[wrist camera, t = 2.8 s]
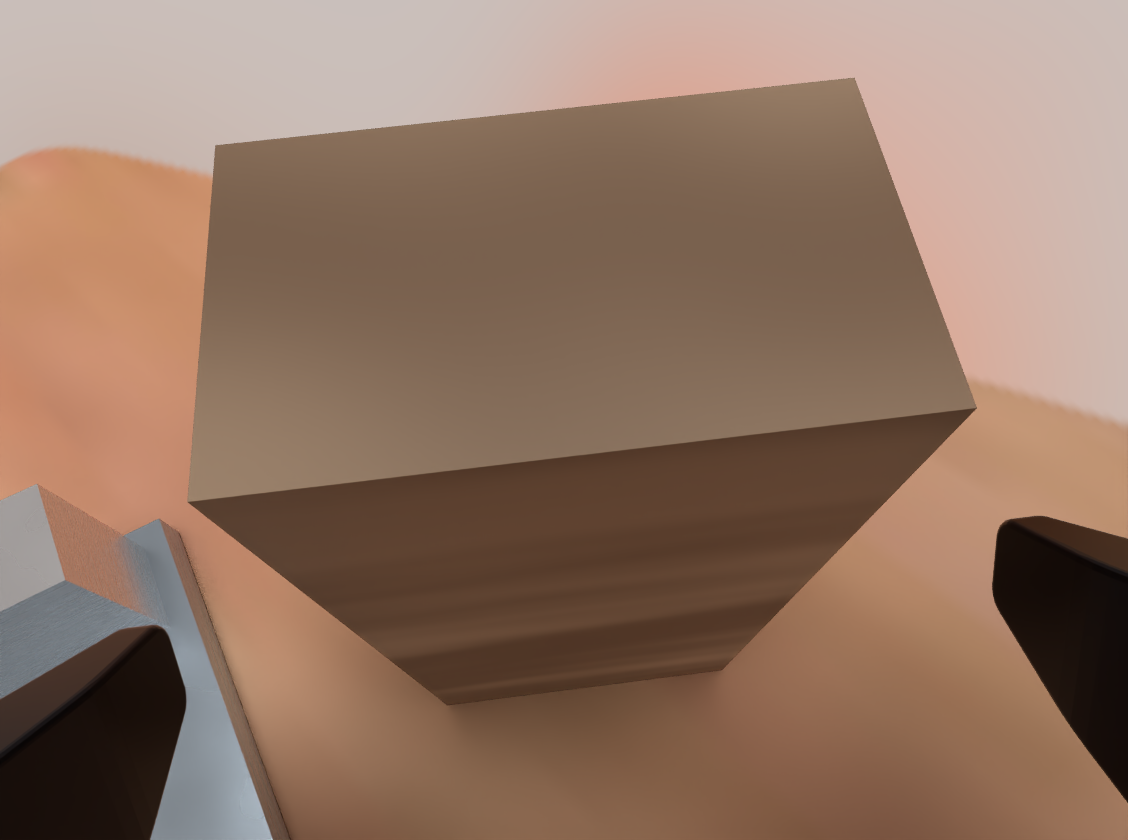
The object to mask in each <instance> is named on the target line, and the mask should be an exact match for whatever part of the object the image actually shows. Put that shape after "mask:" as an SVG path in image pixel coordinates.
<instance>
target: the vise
mask: <svg viewBox="0 0 1128 840" xmlns="http://www.w3.org/2000/svg"><path fill="white" fill-rule="evenodd" d="M147 625H159V626H161V627H162V628H164V629H165V630H166V632H167V633H168V635H169V638H170V640H171V644H172V647H173V650H174V653H175V656H176V660H177V663H178V666H179V669H180V672H181V676H182V679H183V682H184V685H185V689H186V696H187V704H186V712H185V716H184V720H183V723H182V727H181V731H180V734H179V738H178V742H177V745H176V749H175V753H174V756H173V760H172V763H171V767H170V771H169V774H168V778H167V782H166V785H165V789H164V793H163V796H162V800H161V804H160V807H159V811H158V815H157V818H156V822H155V825H154V829H153V832H152V835H151V838H150V840H290V838H289V835H288V832H287V830H286V827H285V824H284V821H283V819H282V816H281V813H280V810H279V808H278V805H277V802H276V799H275V797H274V794H273V791H272V788H271V786H270V783H269V780H268V777H267V774H266V772H265V769H264V766H263V763H262V761H261V758H260V755H259V752H258V750H257V747H256V744H255V741H254V739H253V736H252V733H251V730H250V728H249V725H248V722H247V719H246V717H245V714H244V711H243V708H242V706H241V703H240V700H239V697H238V695H237V692H236V689H235V686H234V684H233V681H232V678H231V675H230V673H229V670H228V667H227V664H226V661H225V659H224V656H223V653H222V650H221V648H220V645H219V642H218V639H217V637H216V634H215V631H214V628H213V626H212V623H211V620H210V617H209V615H208V612H207V609H206V606H205V604H204V601H203V598H202V595H201V593H200V590H199V587H198V584H197V582H196V579H195V576H194V573H193V571H192V568H191V565H190V562H189V559H188V557H187V554H186V551H185V548H184V546H183V543H182V540H181V537H180V535H179V532H178V531H176V530H175V529H173V528H172V527H170V526H169V525H168V524H166V523H165V522H163V521H162V520H160V519H157V520H155V521H153V522H151V523H149V524H147V525H145V526H143V527H141V528H139V529H136V530H134V531H132V532H130V533H128V534H126V535H124V536H123V535H122V534H120V533H118V532H117V531H115V530H113V529H112V528H110V527H108V526H107V525H105V524H103V523H102V522H100V521H98V520H97V519H95V518H93V517H92V516H90V515H88V514H87V513H85V512H83V511H82V510H80V509H78V508H77V507H75V506H73V505H72V504H70V503H68V502H67V501H65V500H63V499H62V498H60V497H58V496H57V495H55V494H53V493H52V492H50V491H48V490H47V489H45V488H43V487H42V486H40V485H38V484H35V485H33V486H31V487H29V488H27V489H25V490H22V491H20V492H18V493H16V494H14V495H12V496H9V497H7V498H5V499H3V500H1V501H0V699H1V698H3V697H5V696H6V695H8V694H10V693H12V692H13V691H15V690H17V689H18V688H20V687H22V686H24V685H25V684H27V683H29V682H30V681H32V680H34V679H35V678H37V677H39V676H41V675H42V674H44V673H46V672H47V671H49V670H51V669H53V668H54V667H56V666H58V665H59V664H61V663H63V662H65V661H66V660H68V659H70V658H71V657H73V656H75V655H77V654H78V653H80V652H82V651H83V650H85V649H87V648H89V647H90V646H92V645H94V644H95V643H97V642H99V641H101V640H102V639H104V638H106V637H107V636H109V635H111V634H112V633H114V632H116V631H118V630H120V629H124V628H131V627H139V626H147Z"/></svg>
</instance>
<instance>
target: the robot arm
mask: <svg viewBox="0 0 1128 840" xmlns="http://www.w3.org/2000/svg"><path fill="white" fill-rule="evenodd" d="M992 590H993V597H994V601H995V604H996V606H997V608H998V610H999V612H1000V614H1001V615H1002V617H1003V619H1004V620H1005V622H1006V624H1007V625H1008V627H1009V629H1010V630H1011V632H1012V633H1013V635H1014V637H1015V638H1016V640H1017V642H1018V643H1019V645H1020V647H1021V648H1022V650H1023V651H1024V653H1025V655H1026V656H1027V658H1028V660H1029V661H1030V663H1031V664H1032V666H1033V668H1034V669H1035V671H1036V673H1037V674H1038V676H1039V678H1040V679H1041V681H1042V682H1043V684H1044V686H1045V687H1046V689H1047V691H1048V692H1049V694H1050V696H1051V697H1052V699H1053V700H1054V702H1055V704H1056V705H1057V707H1058V708H1059V710H1060V711H1061V713H1062V715H1063V716H1064V718H1065V719H1066V721H1067V722H1068V724H1069V725H1070V727H1071V728H1072V729H1073V731H1074V732H1075V734H1076V735H1077V736H1078V738H1079V739H1080V740H1081V742H1082V743H1083V745H1084V746H1085V747H1086V749H1087V750H1088V751H1089V753H1090V754H1091V755H1092V757H1093V758H1094V759H1095V761H1096V762H1097V763H1098V764H1099V766H1100V767H1101V768H1102V770H1103V771H1104V772H1105V774H1106V775H1107V776H1108V778H1109V779H1110V780H1111V782H1112V783H1113V784H1114V785H1115V787H1116V788H1117V789H1118V791H1119V792H1120V793H1121V795H1122V796H1123V797H1124V799H1125V800H1126V801H1127V803H1128V539H1127V538H1123V537H1120V536H1116V535H1112V534H1108V533H1105V532H1101V531H1097V530H1094V529H1090V528H1086V527H1083V526H1079V525H1075V524H1072V523H1068V522H1064V521H1060V520H1057V519H1053V518H1049V517H1046V516H1031V517H1023V518H1015V519H1009V520H1006V521H1005V522H1003V523H1002V524H1001V525H1000V527H999V529H998V533H997V539H996V550H995V561H994V571H993V582H992ZM186 704H187V696H186V689H185V685H184V682H183V679H182V676H181V672H180V669H179V666H178V663H177V660H176V656H175V653H174V650H173V647H172V644H171V640H170V638H169V635H168V633H167V632H166V630H165V629H164V628H162V627H161V626H159V625H147V626H139V627H131V628H124V629H120V630H118V631H116V632H114V633H112V634H111V635H109V636H107V637H106V638H104V639H102V640H101V641H99V642H97V643H95V644H94V645H92V646H90V647H89V648H87V649H85V650H83V651H82V652H80V653H78V654H77V655H75V656H73V657H71V658H70V659H68V660H66V661H65V662H63V663H61V664H59V665H58V666H56V667H54V668H53V669H51V670H49V671H47V672H46V673H44V674H42V675H41V676H39V677H37V678H35V679H34V680H32V681H30V682H29V683H27V684H25V685H24V686H22V687H20V688H18V689H17V690H15V691H13V692H12V693H10V694H8V695H6V696H5V697H3V698H1V699H0V840H150V838H151V835H152V832H153V829H154V825H155V822H156V818H157V815H158V811H159V807H160V804H161V800H162V796H163V793H164V789H165V785H166V782H167V778H168V774H169V771H170V767H171V763H172V760H173V756H174V753H175V749H176V745H177V742H178V738H179V734H180V731H181V727H182V723H183V720H184V716H185V712H186Z"/></svg>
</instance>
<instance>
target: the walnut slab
mask: <svg viewBox="0 0 1128 840" xmlns="http://www.w3.org/2000/svg"><path fill="white" fill-rule="evenodd" d="M976 408H977V407H976V404H975V402H974V399H973V396H972V394H971V391H970V388H969V385H968V383H967V380H966V377H965V375H964V372H963V369H962V367H961V364H960V361H959V358H958V356H957V353H956V350H955V348H954V345H953V343H952V340H951V337H950V334H949V332H948V329H947V326H946V323H945V321H944V318H943V315H942V313H941V310H940V307H939V305H938V302H937V299H936V296H935V294H934V291H933V288H932V286H931V283H930V280H929V278H928V275H927V272H926V269H925V267H924V264H923V261H922V259H921V256H920V253H919V251H918V248H917V246H916V243H915V240H914V237H913V234H912V232H911V229H910V226H909V224H908V221H907V219H906V216H905V213H904V210H903V207H902V205H901V202H900V199H899V197H898V194H897V191H896V189H895V186H894V183H893V180H892V178H891V175H890V172H889V170H888V167H887V164H886V162H885V159H884V156H883V153H882V151H881V148H880V146H879V143H878V140H877V137H876V135H875V132H874V129H873V126H872V124H871V121H870V118H869V116H868V113H867V110H866V108H865V105H864V102H863V99H862V97H861V94H860V92H859V89H858V86H857V84H856V81H855V78H848V79H838V80H829V81H820V82H810V83H801V84H791V85H782V86H772V87H763V88H753V89H745V90H735V91H726V92H716V93H706V94H697V95H688V96H678V97H669V98H659V99H650V100H640V101H631V102H622V103H612V104H602V105H594V106H584V107H575V108H566V109H555V110H547V111H536V112H527V113H518V114H508V115H498V116H489V117H480V118H470V119H461V120H451V121H443V122H432V123H423V124H414V125H404V126H395V127H386V128H375V129H366V130H357V131H348V132H338V133H329V134H319V135H309V136H300V137H290V138H281V139H271V140H263V141H253V142H244V143H234V144H225V145H216V146H215V158H214V171H213V183H212V196H211V209H210V221H209V234H208V247H207V260H206V272H205V285H204V298H203V310H202V323H201V336H200V348H199V361H198V374H197V387H196V399H195V412H194V425H193V437H192V450H191V463H190V475H189V488H188V501H187V502H188V503H189V504H191V505H192V506H193V507H195V508H196V509H197V510H198V511H200V512H201V513H202V514H204V515H205V516H206V517H207V518H209V519H210V520H211V521H212V522H214V523H215V524H216V525H218V526H219V527H220V528H221V529H223V530H224V531H225V532H227V533H228V534H229V535H230V536H232V537H233V538H234V539H236V540H237V541H238V542H239V543H241V544H242V545H243V546H244V547H246V548H247V549H248V550H250V551H251V552H252V553H253V554H255V555H256V556H257V557H259V558H260V559H261V560H262V561H264V562H265V563H266V564H267V565H269V566H270V567H271V568H273V569H274V570H275V571H276V572H278V573H279V574H280V575H282V576H283V577H284V578H285V579H287V580H288V581H289V582H291V583H292V584H293V585H294V586H296V587H297V588H298V589H299V590H301V591H302V592H303V593H305V594H306V595H307V596H308V597H310V598H311V599H312V600H314V601H315V602H316V603H317V604H319V605H320V606H321V607H323V608H324V609H325V610H326V611H328V612H329V613H330V614H331V615H333V616H334V617H335V618H337V619H338V620H339V621H340V622H342V623H343V624H344V625H346V626H347V627H348V628H349V629H351V630H352V631H353V632H355V633H356V634H357V635H358V636H360V637H361V638H362V639H363V640H365V641H366V642H367V643H369V644H370V645H371V646H372V647H374V648H375V649H376V650H378V651H379V652H380V653H381V654H383V655H384V656H385V657H387V658H388V659H389V660H390V661H392V662H393V663H394V664H395V665H397V666H398V667H399V668H401V669H402V670H403V671H404V672H406V673H407V674H408V675H410V676H411V677H412V678H413V679H415V680H416V681H417V682H419V683H420V684H421V685H422V686H424V687H425V688H426V689H427V690H429V691H430V692H431V693H433V694H434V695H435V696H436V697H438V698H439V699H440V700H442V701H443V702H444V703H445V704H447V705H452V704H460V703H468V702H476V701H483V700H491V699H499V698H507V697H515V696H522V695H530V694H538V693H546V692H554V691H562V690H569V689H577V688H585V687H593V686H601V685H609V684H616V683H624V682H632V681H640V680H648V679H655V678H663V677H671V676H679V675H687V674H695V673H702V672H710V671H718V670H722V669H723V668H724V667H725V666H726V665H727V664H728V663H729V662H730V661H731V660H732V659H733V658H734V657H735V656H736V655H737V654H738V653H739V652H740V651H741V650H742V649H743V648H744V647H745V646H746V645H747V644H748V643H749V642H750V641H751V640H752V639H753V638H754V636H755V635H756V634H757V633H758V632H759V631H760V630H761V629H762V628H763V627H764V626H765V625H766V624H767V623H768V622H769V621H770V620H771V619H772V618H773V617H774V616H775V615H776V614H777V613H778V612H779V611H780V610H781V609H782V608H783V607H784V606H785V605H786V604H787V603H788V602H789V601H790V600H791V598H792V597H793V596H794V595H795V594H796V593H797V592H798V591H799V590H800V589H801V588H802V587H803V586H804V585H805V584H806V583H807V582H808V581H809V580H810V579H811V578H812V577H813V576H814V575H815V574H816V573H817V572H818V571H819V570H820V569H821V568H822V567H823V566H824V565H825V564H826V563H827V561H828V560H829V559H830V558H831V557H832V556H833V555H834V554H835V553H836V552H837V551H838V550H839V549H840V548H841V547H842V546H843V545H844V544H845V543H846V542H847V541H848V540H849V539H850V538H851V537H852V536H853V535H854V534H855V533H856V532H857V531H858V530H859V529H860V528H861V527H862V526H863V524H864V523H865V522H866V521H867V520H868V519H869V518H870V517H871V516H872V515H873V514H874V513H875V512H876V511H877V510H878V509H879V508H880V507H881V506H882V505H883V504H884V503H885V502H886V501H887V500H888V499H889V498H890V497H891V496H892V495H893V494H894V493H895V492H896V491H897V490H898V489H899V487H900V486H901V485H902V484H903V483H904V482H905V481H906V480H907V479H908V478H909V477H910V476H911V475H912V474H913V473H914V472H915V471H916V470H917V469H918V468H919V467H920V466H921V465H922V464H923V463H924V462H925V461H926V460H927V459H928V458H929V457H930V456H931V455H932V454H933V453H934V452H935V450H936V449H937V448H938V447H939V446H940V445H941V444H942V443H943V442H944V441H945V440H946V439H947V438H948V437H949V436H950V435H951V434H952V433H953V432H954V431H955V430H956V429H957V428H958V427H959V426H960V425H961V424H962V423H963V422H964V421H965V420H966V419H967V418H968V417H969V416H970V415H971V413H972V412H973V411H974V410H975V409H976Z"/></svg>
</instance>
